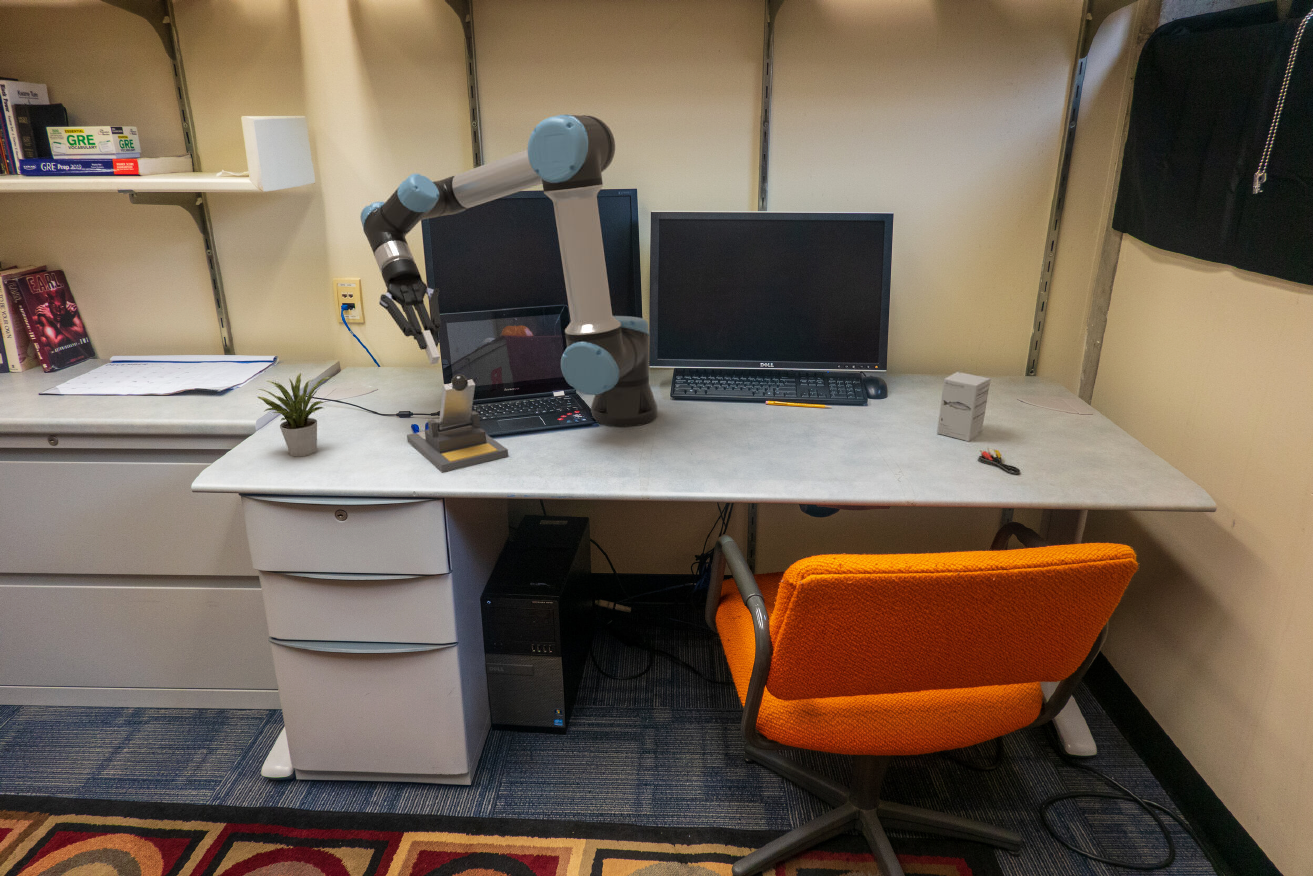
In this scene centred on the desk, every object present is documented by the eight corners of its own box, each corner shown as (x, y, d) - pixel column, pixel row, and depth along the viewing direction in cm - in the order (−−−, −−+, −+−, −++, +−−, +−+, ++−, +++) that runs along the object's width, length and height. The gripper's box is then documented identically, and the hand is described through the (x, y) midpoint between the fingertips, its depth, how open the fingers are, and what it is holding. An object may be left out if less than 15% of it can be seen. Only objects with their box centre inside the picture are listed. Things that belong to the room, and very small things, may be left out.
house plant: (327, 432, 180) (315, 360, 174) (356, 448, 170) (344, 373, 165) (260, 449, 170) (245, 374, 164) (287, 468, 161) (272, 389, 155)
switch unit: (407, 441, 174) (403, 410, 172) (469, 428, 182) (466, 398, 179) (442, 472, 159) (438, 438, 156) (508, 456, 166) (505, 424, 164)
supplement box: (935, 434, 177) (942, 378, 172) (950, 425, 182) (957, 370, 177) (968, 442, 172) (977, 385, 167) (983, 433, 177) (991, 377, 172)
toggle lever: (434, 425, 168) (440, 374, 158) (466, 418, 172) (474, 368, 162) (440, 436, 166) (446, 385, 157) (472, 429, 170) (480, 378, 160)
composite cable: (1023, 476, 157) (1025, 464, 156) (1000, 478, 156) (1002, 466, 155) (993, 456, 166) (995, 445, 165) (971, 458, 165) (973, 447, 164)
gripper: (424, 275, 182) (461, 364, 175) (365, 282, 175) (401, 375, 168) (430, 254, 176) (469, 345, 169) (369, 260, 169) (407, 355, 162)
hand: (435, 360), depth 169 cm, fingers closed
